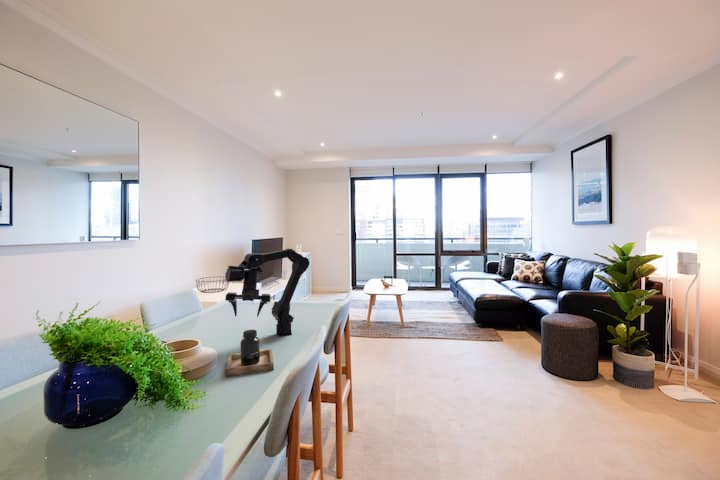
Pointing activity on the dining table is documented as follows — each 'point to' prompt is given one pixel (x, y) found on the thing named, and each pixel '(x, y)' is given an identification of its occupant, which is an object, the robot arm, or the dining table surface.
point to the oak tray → (237, 368)
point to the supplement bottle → (250, 348)
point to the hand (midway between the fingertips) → (246, 316)
